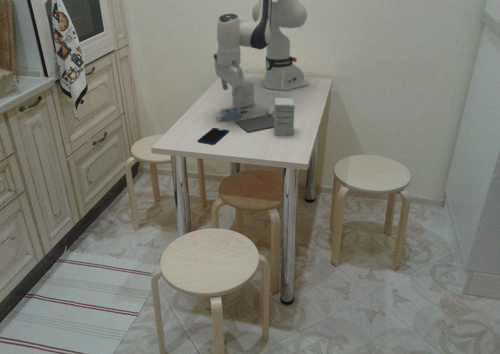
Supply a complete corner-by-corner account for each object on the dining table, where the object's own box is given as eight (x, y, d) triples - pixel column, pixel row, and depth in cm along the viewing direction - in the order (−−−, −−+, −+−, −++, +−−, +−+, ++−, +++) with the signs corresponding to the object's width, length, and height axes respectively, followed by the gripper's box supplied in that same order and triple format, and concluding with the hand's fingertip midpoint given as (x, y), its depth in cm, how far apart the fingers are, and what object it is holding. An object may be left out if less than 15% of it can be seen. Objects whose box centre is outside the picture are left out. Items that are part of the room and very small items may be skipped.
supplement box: (273, 128, 188) (274, 97, 182) (292, 128, 188) (293, 97, 182) (274, 135, 182) (274, 104, 176) (293, 135, 182) (294, 104, 176)
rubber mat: (269, 115, 200) (269, 114, 199) (283, 125, 190) (283, 124, 190) (234, 122, 194) (234, 120, 193) (247, 132, 184) (247, 131, 184)
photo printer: (250, 102, 214) (250, 75, 208) (255, 105, 211) (255, 78, 204) (231, 107, 209) (230, 79, 203) (236, 109, 206) (235, 82, 200)
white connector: (267, 108, 207) (267, 102, 205) (274, 108, 206) (274, 102, 205) (266, 117, 198) (266, 110, 197) (274, 117, 198) (274, 110, 197)
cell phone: (230, 131, 186) (230, 130, 186) (214, 146, 175) (213, 144, 175) (213, 129, 189) (213, 127, 188) (196, 142, 178) (196, 141, 177)
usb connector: (245, 114, 201) (245, 105, 199) (248, 117, 198) (248, 108, 196) (214, 120, 196) (214, 111, 194) (218, 123, 193) (217, 114, 191)
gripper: (248, 64, 177) (248, 99, 184) (226, 51, 193) (227, 84, 200) (232, 66, 175) (233, 101, 182) (211, 53, 191) (213, 86, 198)
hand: (229, 92), depth 191 cm, fingers open, 8 cm apart
